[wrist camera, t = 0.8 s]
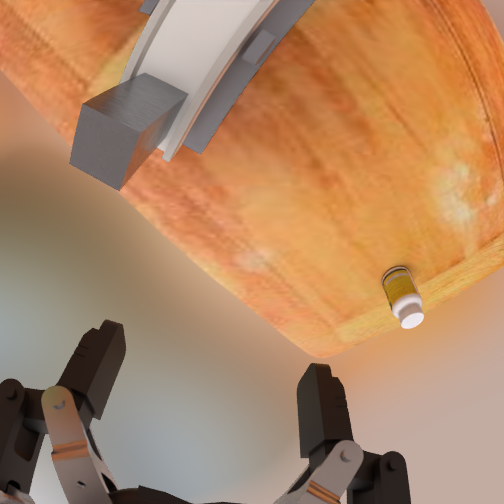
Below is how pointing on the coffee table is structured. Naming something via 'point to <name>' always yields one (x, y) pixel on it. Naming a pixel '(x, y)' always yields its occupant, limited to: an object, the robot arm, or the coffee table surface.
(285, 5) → the beam stand
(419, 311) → the supplement bottle
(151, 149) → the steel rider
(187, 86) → the balance beam
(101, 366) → the robot arm
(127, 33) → the coffee table surface
